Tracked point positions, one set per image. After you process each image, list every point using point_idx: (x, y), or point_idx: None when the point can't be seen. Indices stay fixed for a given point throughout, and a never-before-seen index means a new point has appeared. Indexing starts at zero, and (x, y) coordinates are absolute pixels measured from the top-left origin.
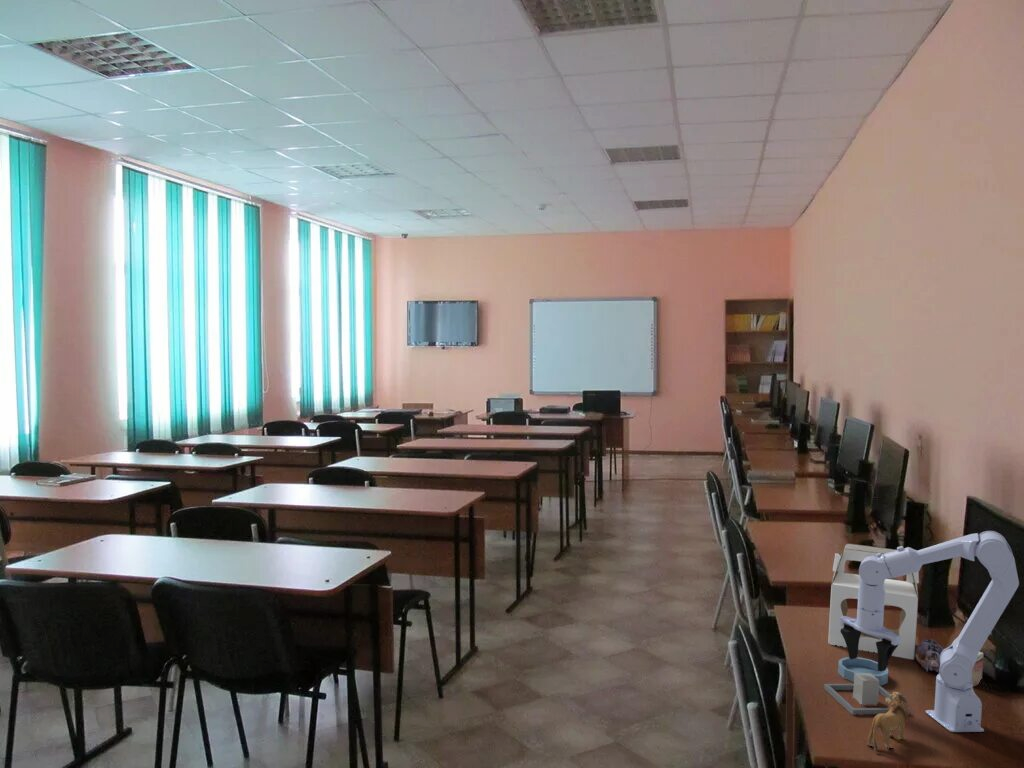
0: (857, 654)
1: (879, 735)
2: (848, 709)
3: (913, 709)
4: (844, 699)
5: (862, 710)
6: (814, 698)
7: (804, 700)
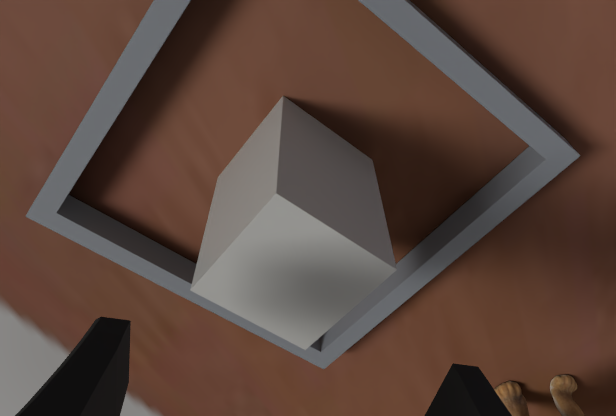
0: (119, 347)
1: None
2: None
3: (584, 37)
4: None
5: (357, 337)
6: None
7: None
